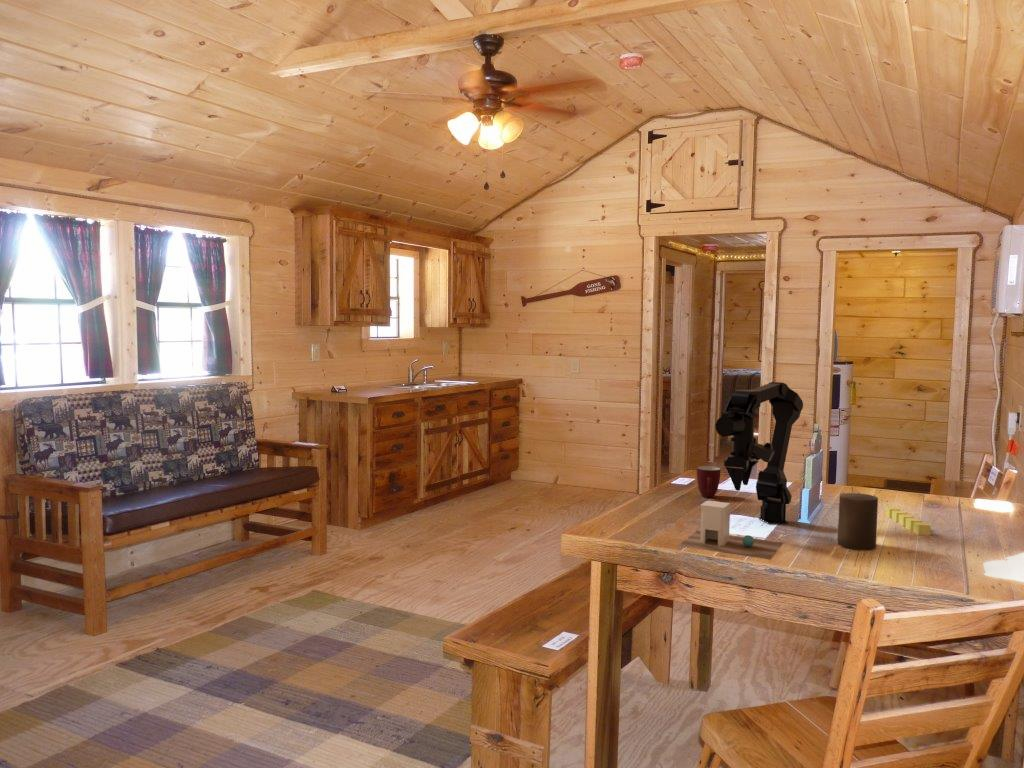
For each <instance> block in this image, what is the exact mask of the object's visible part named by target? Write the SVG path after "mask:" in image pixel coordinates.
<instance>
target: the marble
mask: <svg viewBox="0 0 1024 768" xmlns="http://www.w3.org/2000/svg"><path fill="white" fill-rule="evenodd" d="M742 537H743V540H742V542H743V544H744V545H745V546H747V547H750V546H752V545H753V544H754V539H755V538H754V537H753V536H751V535H744V536H742Z"/></svg>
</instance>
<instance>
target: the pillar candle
mask: <svg viewBox="0 0 1024 768" xmlns="http://www.w3.org/2000/svg"><path fill="white" fill-rule="evenodd" d="M878 500H879V498H878V496H875V495H871V494H867V493H860V491H857V493H855V492H845V493H844V492H843V493H839V504H838V520H837V521H838V523H837V524H838V525H837V544H838V545H839V546H840V547H843V548H846V549H850V550H858V551H873V550H875V549H877V536H878V535H877V527H878V503H879V501H878Z"/></svg>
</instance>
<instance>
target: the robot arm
mask: <svg viewBox="0 0 1024 768" xmlns="http://www.w3.org/2000/svg"><path fill="white" fill-rule="evenodd" d="M767 401H768V402H769V404H770V406H771V407H772V409H771V412H772V415H773V418H774V420H775V422H774V423H775V424H774V428H773V433H772V438H771V443H769V442H766V443H764V444H762V443H758V442H757V438H756V437H755V419H756V418H758V417H759V416H758V414H757V413H756V412H755V411H756V410H757V409H759V408H760V407H761V404H762V403H765V402H767ZM803 408H804V401H803V400H802V398H801V397H800V395H799V394H798V393H797V392H796V391H794V390H793V389H792V388H790V387H789V386H788V384H787V383H785V382H781V381H779V382H778V381H771V382H769V383H767V384H763V385H761V386H757V387H755V388H752V389H734V390H733V391H732V392H731V394H730V396H729V398H728V401H727V403H726V405H725V408H724V410H723V411H722V414H721V417H719V418H718V419H717V420H716V423H715V425H714V427H715V431H716V433H717V434H718V435H719V436H720V437H723V438H726V437H731V438H730V442H732V451H730V455H728V456H726V457H725V458H724V459H723V466H724V468H725V469H726V472H727V473H728V475H729V477H730V480H731V482H732V485H733V486H734V489H735V490H736V491H741V486H742V485H744V486H748V485H749V480H750V478H751V473H752V470H753V467H754V466H755V465H757V464H758V463H759V461H760V460H762V461H763V462H765V463H767V465H766V467H765V468H764V469H763V470H759V472H758V475H757V480H756V483H755V492H756V496H757V497H756V498H757V500H758V501H761V505H760V516H759V517H758V519H759V520H760V519H762V520H764V521H766V522H768V523H767V524H769V523H777V524H788V523H789V521H788V520H786V515H787V512H786V511H787V509H786V508H787V505H790V503H791V501H792V497H793V496H792V494H791V492H790V490H789V488H788V486H787V485H788V480H787V476H786V474H785V472H784V469H785V464H786V463H785V462H786V460H787V459H786V458H787V453H788V448H789V443H790V439H791V434H792V428H793V425H794V424H795V423H796V422H797V421H798V420H799V418H800V416H801V413H802V411H803ZM762 520H761V521H762ZM764 521H763V522H764ZM766 522H765V523H766ZM787 522H788V523H787Z"/></svg>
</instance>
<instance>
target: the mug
mask: <svg viewBox="0 0 1024 768" xmlns="http://www.w3.org/2000/svg"><path fill="white" fill-rule="evenodd" d="M720 479H721V468H720V467H717V466H709V465H707V466H706V465H704V466H698V467H696V481H697V487H698V488H697V489H698V491H699V493H700V495H701V497H703V498H710V499H712V498H714V497H715V495H716V493H717V492H718V490H719V484H720Z"/></svg>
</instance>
